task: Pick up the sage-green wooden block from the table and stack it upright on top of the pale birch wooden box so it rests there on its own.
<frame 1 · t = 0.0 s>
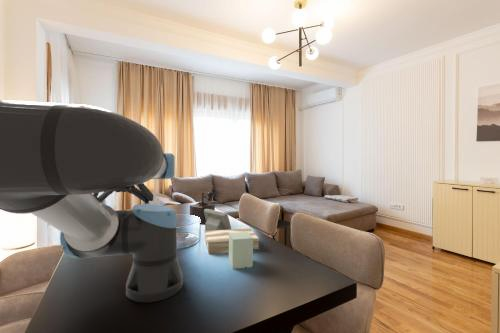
hand: (126, 213, 95), 15 cm above the table, tool tilted 35°, fingers open, 13 cm apart
birch box: (230, 246, 105), on the table
dark brown irregular piece: (205, 222, 140), on the table
digital clock: (217, 232, 123), on the table
sage block: (240, 263, 88), on the table
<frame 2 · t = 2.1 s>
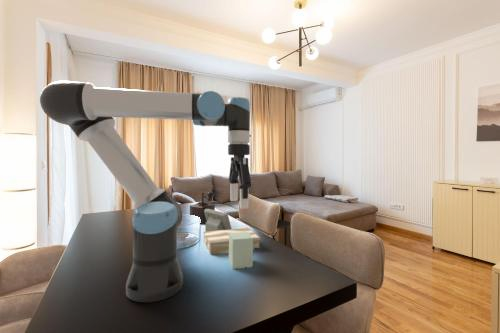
hand: (238, 204, 88), 21 cm above the table, tool pointing down, fingers open, 13 cm apart
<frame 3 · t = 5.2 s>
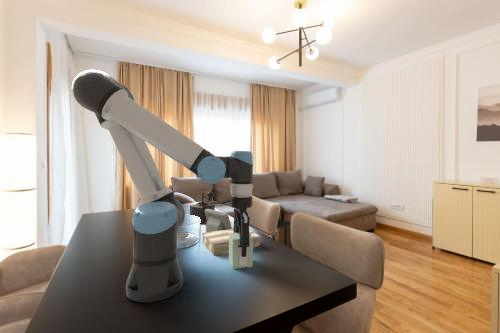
hand: (240, 260, 88), 1 cm above the table, tool pointing down, fingers closed on sage block, 7 cm apart
sage block: (240, 263, 88), on the table, touching gripper
when the fingers open (8 cm above the table, at t = 12.8 s): sage block drops 2 cm, resting on birch box.
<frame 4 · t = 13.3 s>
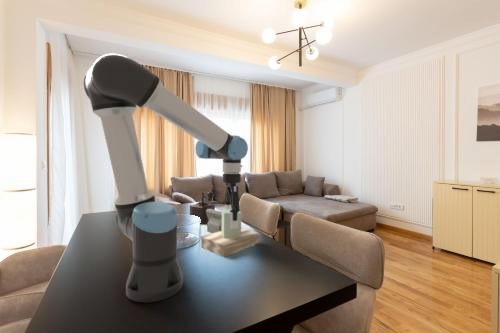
hand: (231, 223, 105), 9 cm above the table, tool pointing down, fingers open, 13 cm apart
birch box: (230, 246, 105), on the table, touching sage block
sage block: (230, 234, 105), point 4 cm above the table, touching birch box
everything else where it was.
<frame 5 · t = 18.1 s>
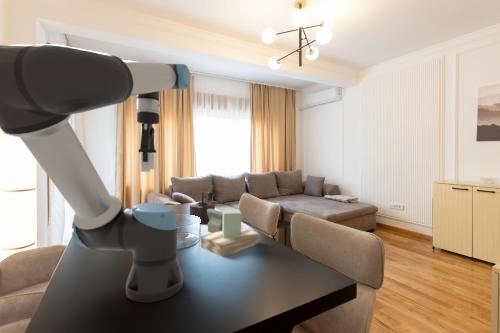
hand: (148, 170, 92), 32 cm above the table, tool pointing down, fingers open, 13 cm apart
at the end: sage block inside the target area on the birch box (0.4 cm from its centre), point 5.0 cm above the birch box's base; sage block tilted 0°; the gripper is holding nothing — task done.
